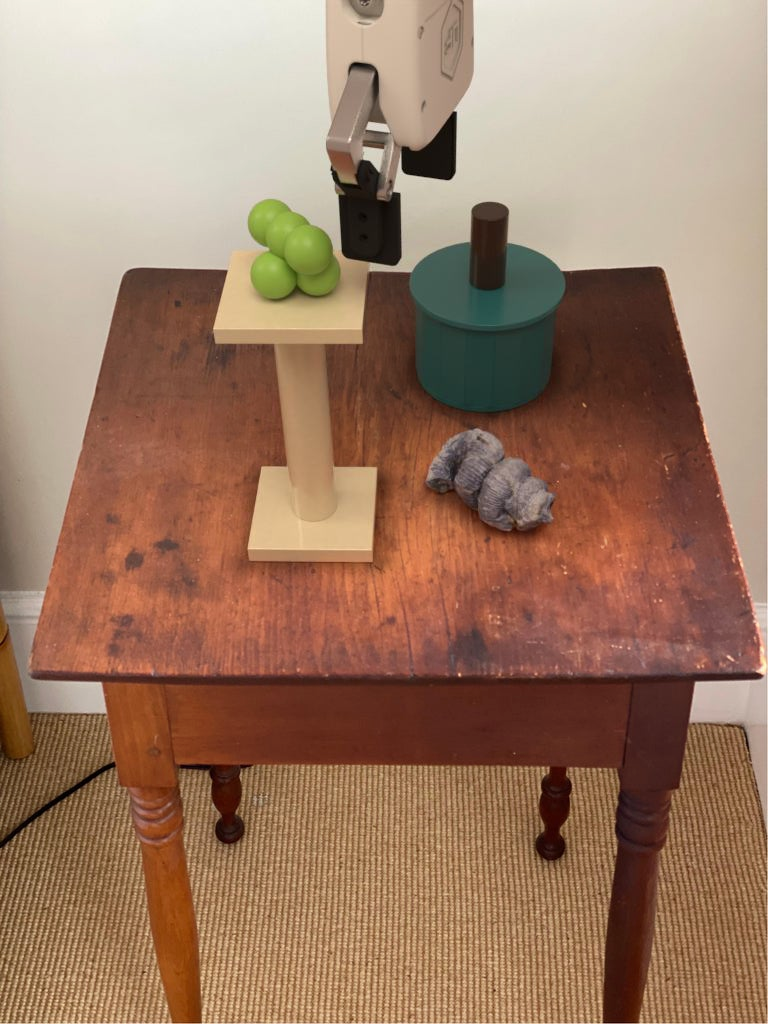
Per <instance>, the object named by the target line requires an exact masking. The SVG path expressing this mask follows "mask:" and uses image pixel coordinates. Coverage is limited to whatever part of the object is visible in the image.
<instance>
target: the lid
mask: <svg viewBox="0 0 768 1024" xmlns="http://www.w3.org/2000/svg"><path fill="white" fill-rule="evenodd" d="M509 223H510V210H509V208H508V206H506V205H505V204H503V203H501V202H497V201H483V202H478V203H476V204H475V205H473V207H472V208H471V210H470V235H469V236H470V238H469V240H470V241H465V242H460V243H454V244H450V245H447V246H444V247H442V248H439V249H437V250H435V251H433V252H431V253H429V254H427V255H426V256H424V257H423V258H421V260H419V262H418V263H417V264H416V265H415V266H414V268H413V269H412V270H411V273H410V275H409V281H408V282H409V283H408V286H409V287H408V289H409V294H410V296H411V299H412V301H413V302H414V305H415V304H416V305H417V306H418V307H419V308H420V310H422V311H423V312H424V313H425V314H427V315H428V316H430V317H432V318H433V319H435V320H437V321H440V322H442V323H444V324H447V325H450V326H454V327H458V328H462V329H468V330H476V331H503V330H511V329H516V328H521V327H524V326H528V325H531V324H533V323H536V322H538V321H540V320H542V319H544V318H546V317H547V316H549V315H550V314H551V313H553V312H554V311H555V310H556V311H557V309H558V308H559V306H560V305H561V304H562V302H563V301H564V297H565V293H566V279H565V276H564V273H563V272H562V269H561V268H560V267H559V266H558V264H556V262H554V261H553V260H552V259H551V258H549V256H546V255H545V254H543V253H541V252H539V251H538V250H534V249H533V248H530V247H527V246H524V245H521V244H516V243H513V242H508V240H509V239H508V238H509V225H510V224H509Z"/></svg>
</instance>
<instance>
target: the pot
mask: <svg viewBox="0 0 768 1024" xmlns="http://www.w3.org/2000/svg"><path fill="white" fill-rule="evenodd" d="M414 306H415V307H414V310H415V311H414V314H415V315H414V316H415V317H414V318H415V319H414V320H415V323H414V324H415V328H414V329H415V331H414V332H415V370H416V375H417V379H418V382H419V384H420V385H421V388H422V389H423V390H424V391H425V392H426V393H427V394H428V395H429V396H431V397H432V398H433V399H435V400H436V401H438V402H440V403H442V404H444V405H446V406H449V407H451V408H455V409H459V410H461V411H466V412H476V413H495V412H503V411H508V410H514V409H516V408H520V407H521V406H524V405H526V404H528V403H530V402H531V401H533V400H535V399H536V398H538V396H540V395H541V394H542V393H543V391H545V389H546V387H547V386H548V383H549V381H550V378H551V370H552V361H553V350H554V339H555V330H556V318H557V309H556V310H555V311H554V312H553V313H551V314H550V315H549V316H547V317H546V318H544V319H542V320H540V321H538V322H536V323H533V324H531V325H528V326H524V327H521V328H516V329H511V330H503V331H476V330H468V329H462V328H458V327H454V326H450V325H447V324H444V323H442V322H440V321H437V320H435V319H433V318H432V317H430V316H428V315H427V314H425V313H424V312H423V311H422V310H420V308H419V307H418V306H417V305H416V304H415V303H414Z"/></svg>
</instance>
